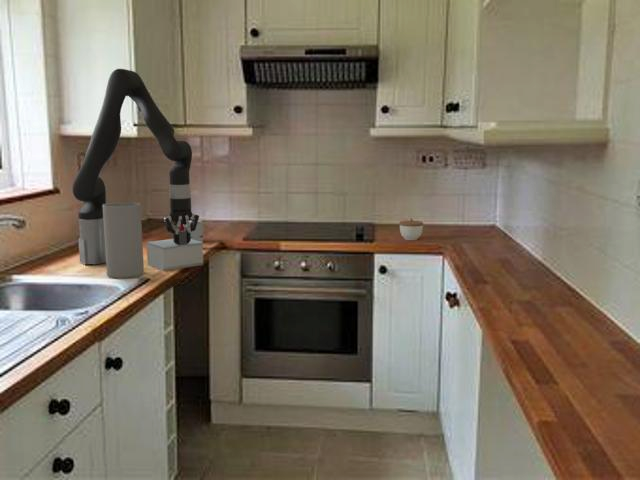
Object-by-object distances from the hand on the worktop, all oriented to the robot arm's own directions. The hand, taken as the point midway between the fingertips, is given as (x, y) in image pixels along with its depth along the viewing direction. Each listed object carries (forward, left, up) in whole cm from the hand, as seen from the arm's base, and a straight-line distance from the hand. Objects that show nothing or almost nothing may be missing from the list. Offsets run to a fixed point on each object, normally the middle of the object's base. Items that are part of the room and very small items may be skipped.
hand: (182, 243), depth 236 cm
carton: (0, +6, -9) cm, 11 cm away
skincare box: (+21, +30, -9) cm, 38 cm away
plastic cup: (+25, +46, -9) cm, 54 cm away
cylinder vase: (-21, +2, -9) cm, 23 cm away
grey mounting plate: (0, +6, -1) cm, 6 cm away
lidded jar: (+109, -12, -9) cm, 110 cm away
